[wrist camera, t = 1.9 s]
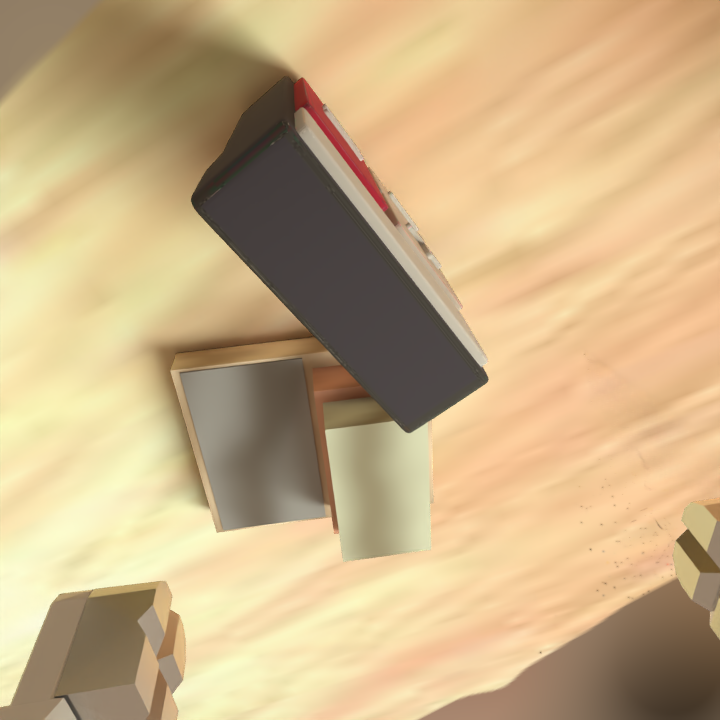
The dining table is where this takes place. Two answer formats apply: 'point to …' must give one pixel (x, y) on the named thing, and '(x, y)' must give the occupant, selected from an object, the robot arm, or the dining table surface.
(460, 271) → the dining table surface
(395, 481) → the sticky note pad set
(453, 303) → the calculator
